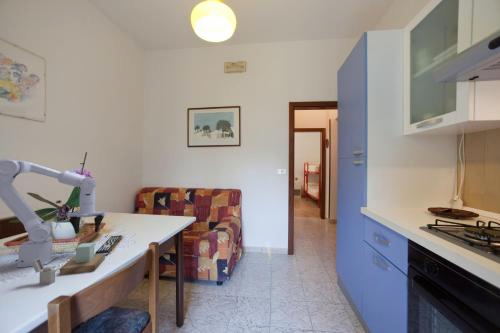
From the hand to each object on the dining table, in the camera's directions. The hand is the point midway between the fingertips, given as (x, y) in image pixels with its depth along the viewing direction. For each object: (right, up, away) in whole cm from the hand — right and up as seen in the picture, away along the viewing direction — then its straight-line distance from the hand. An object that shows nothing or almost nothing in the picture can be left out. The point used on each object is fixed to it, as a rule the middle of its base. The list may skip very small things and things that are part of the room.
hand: (87, 232), depth 97 cm
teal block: (+9, -7, -13) cm, 17 cm away
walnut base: (+9, -10, -13) cm, 19 cm away
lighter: (+4, -10, -25) cm, 27 cm away
